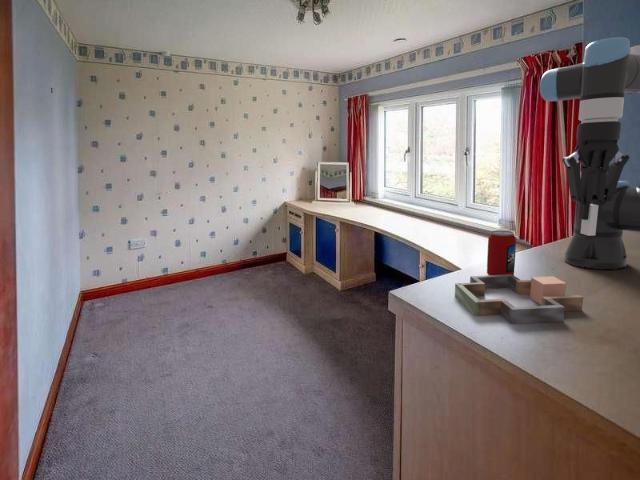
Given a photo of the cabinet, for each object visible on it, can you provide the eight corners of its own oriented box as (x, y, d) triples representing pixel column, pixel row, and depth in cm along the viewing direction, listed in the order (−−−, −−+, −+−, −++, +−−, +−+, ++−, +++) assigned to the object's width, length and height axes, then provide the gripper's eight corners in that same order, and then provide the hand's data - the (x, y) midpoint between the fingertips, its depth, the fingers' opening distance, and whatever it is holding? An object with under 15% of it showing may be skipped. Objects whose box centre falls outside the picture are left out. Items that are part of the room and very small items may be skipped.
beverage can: (516, 280, 109) (519, 235, 106) (489, 279, 110) (491, 235, 108) (510, 272, 116) (513, 229, 113) (484, 272, 117) (486, 229, 114)
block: (551, 297, 97) (553, 276, 96) (564, 305, 92) (566, 283, 91) (529, 298, 97) (531, 277, 96) (541, 306, 92) (543, 284, 91)
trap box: (538, 284, 105) (539, 273, 105) (597, 319, 84) (598, 305, 83) (448, 288, 105) (448, 277, 104) (484, 325, 83) (485, 311, 83)
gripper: (617, 121, 90) (605, 229, 95) (557, 123, 90) (548, 232, 95) (644, 119, 83) (630, 236, 88) (579, 121, 83) (568, 239, 88)
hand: (587, 234), depth 91 cm, fingers closed
